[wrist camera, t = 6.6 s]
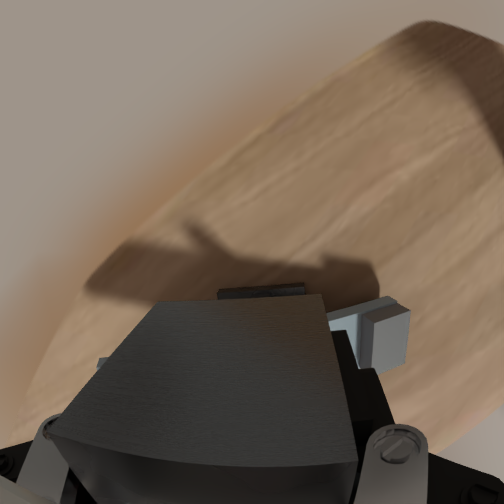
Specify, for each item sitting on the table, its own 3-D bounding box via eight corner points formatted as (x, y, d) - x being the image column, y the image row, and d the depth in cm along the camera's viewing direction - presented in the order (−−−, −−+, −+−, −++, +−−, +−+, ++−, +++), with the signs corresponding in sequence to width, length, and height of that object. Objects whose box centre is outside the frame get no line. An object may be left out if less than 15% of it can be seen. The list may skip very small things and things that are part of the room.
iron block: (321, 293, 9) (358, 460, 3) (320, 417, 10) (330, 563, 5) (157, 301, 10) (47, 431, 4) (187, 418, 11) (138, 547, 5)
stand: (303, 282, 30) (310, 325, 21) (308, 367, 32) (312, 422, 24) (219, 289, 31) (197, 332, 22) (232, 371, 33) (219, 425, 25)
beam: (387, 295, 28) (410, 308, 25) (384, 349, 30) (404, 364, 27) (99, 358, 23) (92, 382, 19) (121, 413, 24) (119, 439, 21)
